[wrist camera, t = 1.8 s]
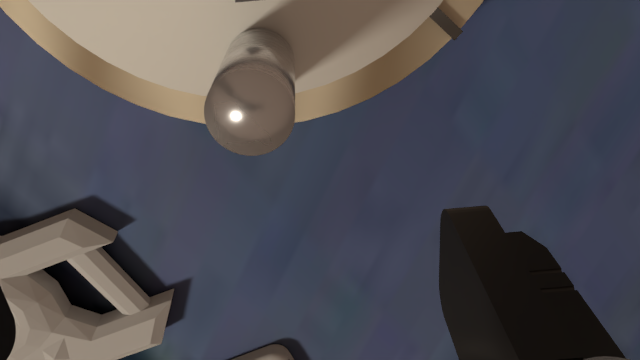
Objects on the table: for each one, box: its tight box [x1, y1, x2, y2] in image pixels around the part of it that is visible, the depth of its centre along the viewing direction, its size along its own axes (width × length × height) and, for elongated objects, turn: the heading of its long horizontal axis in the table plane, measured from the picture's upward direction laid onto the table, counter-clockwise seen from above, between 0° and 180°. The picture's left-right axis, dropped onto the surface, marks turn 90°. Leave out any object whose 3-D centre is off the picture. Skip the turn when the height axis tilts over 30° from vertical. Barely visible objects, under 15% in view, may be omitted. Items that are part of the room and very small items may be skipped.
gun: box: [0, 208, 174, 360], centre depth 31 cm, size 18×3×10 cm
